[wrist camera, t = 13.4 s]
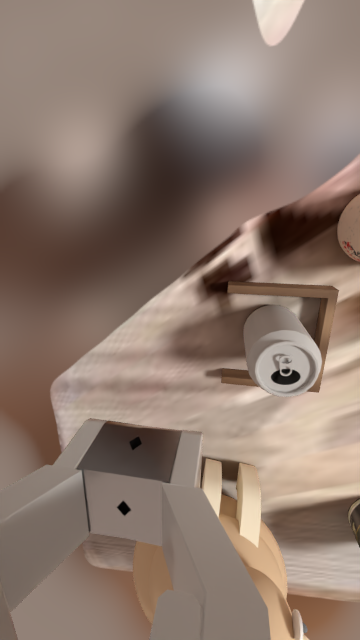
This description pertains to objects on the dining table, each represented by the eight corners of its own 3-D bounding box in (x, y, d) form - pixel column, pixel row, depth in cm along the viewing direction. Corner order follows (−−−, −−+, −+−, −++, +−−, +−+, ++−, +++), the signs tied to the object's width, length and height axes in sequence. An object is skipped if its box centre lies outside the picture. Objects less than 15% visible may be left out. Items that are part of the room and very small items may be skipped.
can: (244, 355, 42) (250, 404, 31) (241, 305, 40) (245, 338, 28) (299, 352, 40) (326, 403, 29) (299, 300, 38) (328, 333, 27)
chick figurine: (351, 998, 20) (38, 865, 22) (260, 679, 46) (122, 636, 48) (348, 493, 31) (139, 445, 33) (276, 469, 57) (163, 443, 59)
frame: (228, 281, 39) (228, 285, 37) (331, 285, 37) (338, 290, 35) (221, 374, 43) (221, 383, 41) (313, 382, 41) (318, 392, 39)
